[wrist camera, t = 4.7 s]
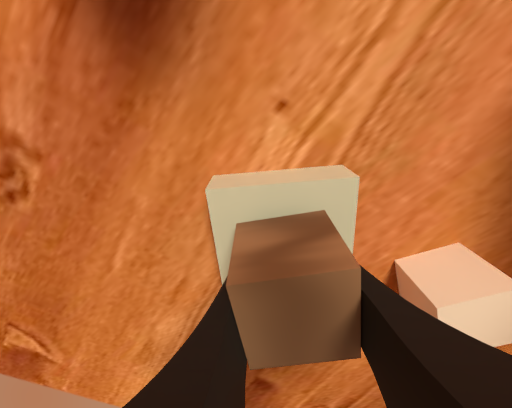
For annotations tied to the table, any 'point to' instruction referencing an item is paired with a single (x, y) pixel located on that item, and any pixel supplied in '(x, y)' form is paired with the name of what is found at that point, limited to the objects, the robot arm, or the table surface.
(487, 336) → the cream cube
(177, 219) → the table surface
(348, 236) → the sage slab
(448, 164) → the table surface
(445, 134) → the table surface
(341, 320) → the walnut cube
